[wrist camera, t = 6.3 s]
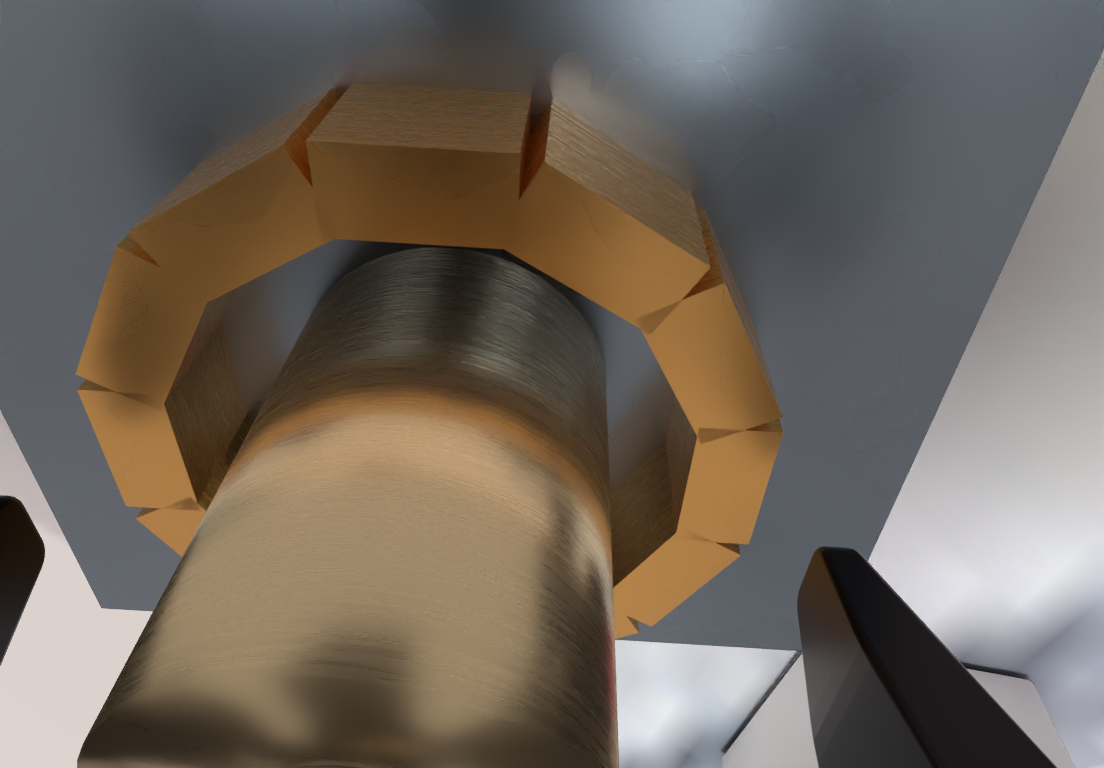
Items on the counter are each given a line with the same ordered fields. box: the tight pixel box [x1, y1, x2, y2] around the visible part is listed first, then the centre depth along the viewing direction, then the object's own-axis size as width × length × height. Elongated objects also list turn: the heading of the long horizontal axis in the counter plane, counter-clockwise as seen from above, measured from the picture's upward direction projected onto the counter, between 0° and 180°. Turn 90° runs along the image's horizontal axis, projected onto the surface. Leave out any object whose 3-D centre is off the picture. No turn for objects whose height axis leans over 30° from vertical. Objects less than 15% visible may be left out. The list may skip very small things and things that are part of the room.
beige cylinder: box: [77, 248, 619, 768], centre depth 8 cm, size 4×4×7 cm
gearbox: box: [0, 0, 1104, 651], centre depth 12 cm, size 17×12×6 cm
